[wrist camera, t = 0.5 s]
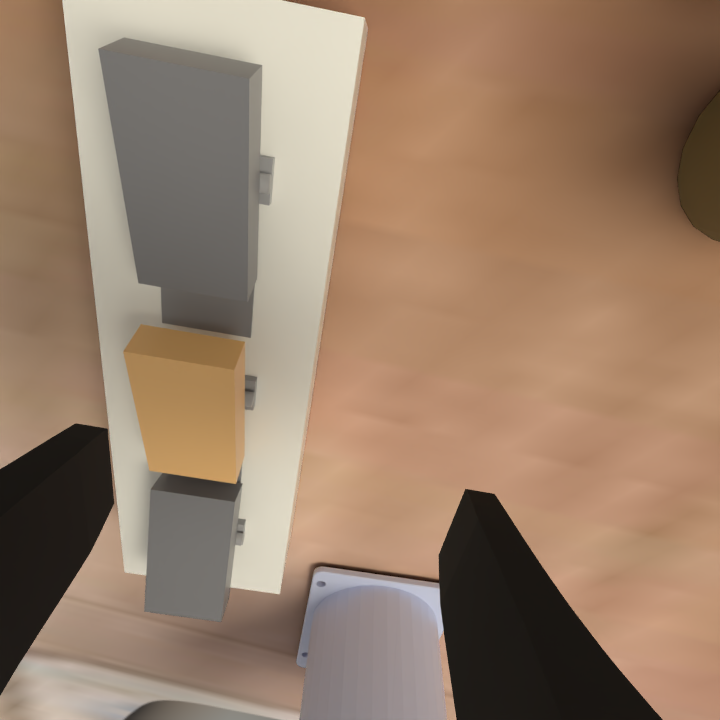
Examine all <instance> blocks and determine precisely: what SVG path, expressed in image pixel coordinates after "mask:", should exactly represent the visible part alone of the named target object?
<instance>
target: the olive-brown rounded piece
mask: <svg viewBox="0 0 720 720" xmlns="http://www.w3.org/2000/svg"><path fill="white" fill-rule="evenodd" d="M677 181H678V188H679V195H680V202H681V207H682V208H683V210H684V211H685V213H686V215H687V216H688V218H689V220H690V221H691V223H692V225H693V226H694V227H695V228H697V229H698V230H700V231H701V232H703V233H704V234H705V235H707V236H708V237H710V238H711V239H713V240H716V241H720V91H719V92H718V93H717V95H716V96H715V97H714V98H713V100H712V101H711V102H710V103H709V104H708V106H707V107H706V108H705V109H704V111H703V112H702V113H701V114H700V115H699V117H698V119H697V121H696V123H695V125H694V127H693V129H692V131H691V133H690V135H689V137H688V139H687V141H686V144H685V146H684V148H683V152H682V157H681V162H680V167H679V173H678V178H677Z"/></svg>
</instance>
